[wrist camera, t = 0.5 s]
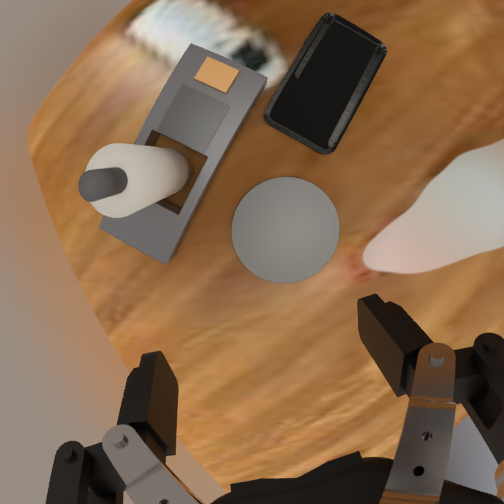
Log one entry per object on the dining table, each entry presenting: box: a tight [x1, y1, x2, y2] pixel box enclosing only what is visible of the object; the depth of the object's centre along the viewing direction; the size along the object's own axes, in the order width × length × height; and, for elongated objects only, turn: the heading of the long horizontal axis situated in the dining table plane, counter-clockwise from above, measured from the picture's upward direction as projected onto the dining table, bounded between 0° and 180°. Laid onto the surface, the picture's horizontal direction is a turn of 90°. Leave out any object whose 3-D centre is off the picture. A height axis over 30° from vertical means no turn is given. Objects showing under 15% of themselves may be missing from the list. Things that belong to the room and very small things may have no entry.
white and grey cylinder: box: [79, 143, 194, 218], centre depth 22 cm, size 4×4×17 cm
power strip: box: [99, 44, 267, 265], centre depth 27 cm, size 20×8×4 cm, turn 151°
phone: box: [264, 13, 387, 154], centre depth 27 cm, size 8×1×15 cm
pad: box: [232, 177, 340, 283], centre depth 31 cm, size 11×11×1 cm
